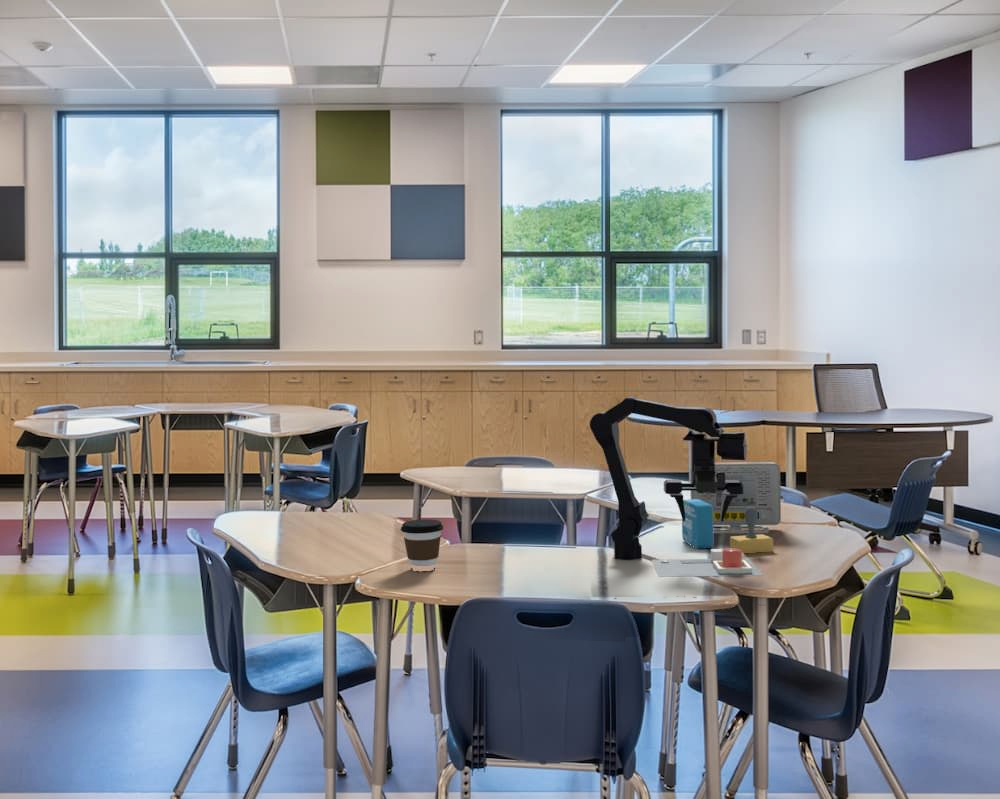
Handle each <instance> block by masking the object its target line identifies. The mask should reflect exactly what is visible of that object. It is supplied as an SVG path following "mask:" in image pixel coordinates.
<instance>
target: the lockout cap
mask: <svg viewBox="0 0 1000 799" xmlns="http://www.w3.org/2000/svg"><path fill="white" fill-rule="evenodd" d="M722 549H723V550H722V568H742V558H743V556H742V553H743V552H742V550H740V549H734V548H730V547H729V548H722Z"/></svg>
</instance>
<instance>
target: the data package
mask: <svg viewBox="0 0 1000 799" xmlns="http://www.w3.org/2000/svg"><path fill="white" fill-rule="evenodd" d="M683 502H684V510H685V522H683V519H682V518H681V532H682V533H681V536H682V540H684V541H686V542H687V543H689V544H691V545H692V546H691V545H690V546H691V547H693V546H694V547H696V548H703V549H713V547H714V544H715V542H714V533H713V531H714V528H713V508H712V505H711V504H708V503H706V502H704V501H701V500H699V499H691V498H690V499H683ZM684 541H683V542H684ZM686 542H685V543H686ZM687 543H686V544H687ZM689 544H688V545H689ZM694 547H693V548H694ZM696 548H695V549H696Z"/></svg>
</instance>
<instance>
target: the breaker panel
mask: <svg viewBox="0 0 1000 799" xmlns="http://www.w3.org/2000/svg"><path fill="white" fill-rule="evenodd" d="M651 561H652V562H651V563H652V564H653V567H654V570H655V571H656V573H657V576H658V577H659V578H665V577H666V578H667V577H668V578H669V577H670V578H674V577H675V578H676V577H677V578H679V577H682V578H683V577H691V578H692V577H751V576H752V577H753V576H754V577H756V576H757V577H761V576H763V577H764V575H763V573H762V572H761V571H760V570H759V568H757V567H756V565H754V563H753V562H752V561H751V560H750V558H747V557H745V558H744V557H742V568H722V561H713V562H712V560H711V558H684V559H683V558H681V559H680V558H677V559H675V558H673V559H672V558H671V559H667V558H665V559H661V558H660V559H658V558H657V559H651Z"/></svg>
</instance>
